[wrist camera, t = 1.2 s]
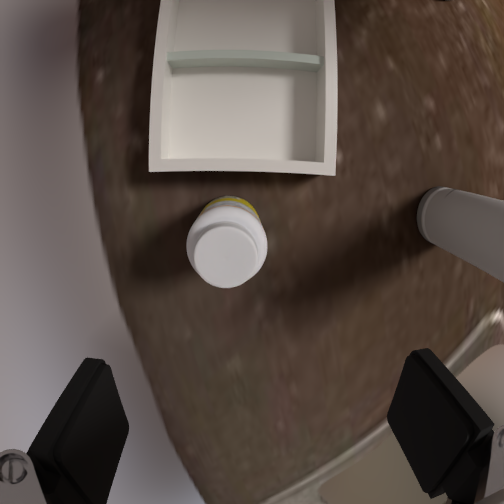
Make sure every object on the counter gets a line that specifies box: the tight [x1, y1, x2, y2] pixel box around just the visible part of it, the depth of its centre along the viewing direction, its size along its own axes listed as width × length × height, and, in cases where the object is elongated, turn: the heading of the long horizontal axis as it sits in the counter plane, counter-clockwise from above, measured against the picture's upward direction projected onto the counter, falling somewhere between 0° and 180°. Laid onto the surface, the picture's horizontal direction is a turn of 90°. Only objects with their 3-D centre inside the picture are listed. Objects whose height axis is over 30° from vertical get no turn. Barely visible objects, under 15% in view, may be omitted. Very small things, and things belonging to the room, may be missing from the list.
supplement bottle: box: [186, 196, 267, 288], centre depth 24 cm, size 6×6×10 cm
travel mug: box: [417, 187, 504, 282], centre depth 19 cm, size 6×7×20 cm
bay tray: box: [149, 0, 337, 176], centre depth 23 cm, size 20×15×4 cm
